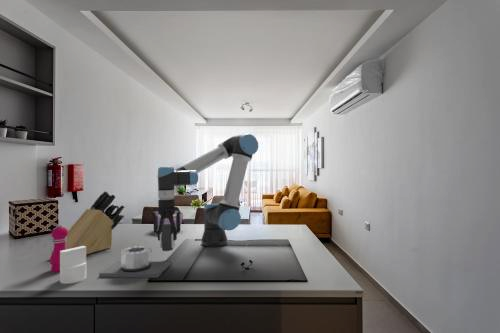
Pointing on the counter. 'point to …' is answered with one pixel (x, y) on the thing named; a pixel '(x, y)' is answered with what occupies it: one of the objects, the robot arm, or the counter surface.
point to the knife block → (95, 226)
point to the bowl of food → (168, 219)
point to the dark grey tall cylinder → (166, 237)
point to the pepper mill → (58, 246)
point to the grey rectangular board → (151, 272)
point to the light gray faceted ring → (136, 258)
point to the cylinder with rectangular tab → (73, 265)
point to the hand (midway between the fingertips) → (167, 246)
